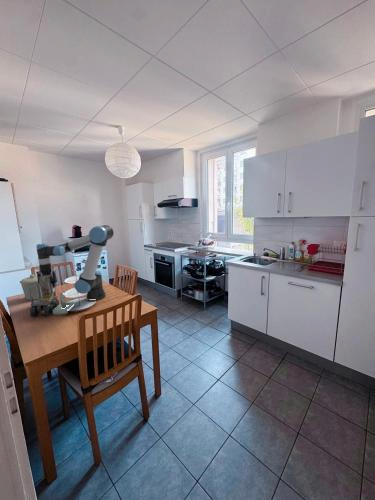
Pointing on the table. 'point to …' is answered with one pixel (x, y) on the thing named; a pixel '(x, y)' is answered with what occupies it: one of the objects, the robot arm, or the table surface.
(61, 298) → the pin
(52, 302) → the trolley
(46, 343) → the table surface
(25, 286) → the canister
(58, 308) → the tray
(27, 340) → the table surface
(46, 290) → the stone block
